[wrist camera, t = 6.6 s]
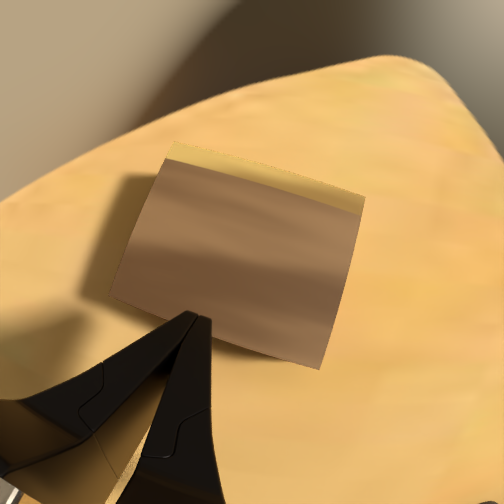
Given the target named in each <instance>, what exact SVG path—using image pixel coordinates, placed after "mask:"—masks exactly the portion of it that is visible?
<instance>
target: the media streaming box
mask: <svg viewBox="0 0 504 504" xmlns="http://www.w3.org/2000/svg"><path fill="white" fill-rule="evenodd" d="M480 504H498V503H496V502H493V501H487V502H483V503H480Z"/></svg>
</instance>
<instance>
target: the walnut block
mask: <svg viewBox="0 0 504 504" xmlns="http://www.w3.org/2000/svg"><path fill="white" fill-rule="evenodd" d="M364 202H365V197H364V196H361V195H358V194H355V193H353V192H350V191H347V190H344V189H341V188H338V187H335V186H332V185H329V184H326V183H323V182H320V181H317V180H314V179H311V178H308V177H304V176H301V175H298V174H295V173H291V172H288V171H285V170H281V169H278V168H275V167H271V166H268V165H264V164H261V163H257V162H254V161H250V160H247V159H243V158H239V157H235V156H232V155H228V154H224V153H220V152H216V151H212V150H208V149H204V148H200V147H196V146H192V145H187V144H183V143H179V142H173V144H172V146H171V148H170V150H169V152H168V154H167V156H166V158H165V160H164V162H163V164H162V166H161V168H160V171H159V173H158V175H157V177H156V179H155V181H154V183H153V186H152V188H151V190H150V192H149V194H148V197H147V199H146V201H145V203H144V206H143V208H142V210H141V213H140V215H139V217H138V220H137V222H136V224H135V227H134V229H133V232H132V234H131V237H130V239H129V242H128V244H127V247H126V249H125V252H124V254H123V257H122V260H121V262H120V265H119V267H118V270H117V273H116V276H115V278H114V281H113V284H112V287H111V290H110V292H109V295H108V296H110V297H112V298H115V299H117V300H119V301H122V302H124V303H126V304H129V305H131V306H134V307H136V308H138V309H141V310H143V311H146V312H148V313H151V314H153V315H156V316H158V317H161V318H163V319H166V320H168V321H169V320H171V319H172V318H174V317H176V316H177V315H179V314H181V313H182V312H184V311H186V310H189V311H192V312H194V313H197V314H198V315H203V316H206V317H208V318H211V319H212V337H215V338H217V339H220V340H223V341H226V342H229V343H232V344H235V345H238V346H241V347H244V348H247V349H250V350H253V351H256V352H260V353H263V354H266V355H269V356H272V357H276V358H279V359H282V360H286V361H289V362H292V363H296V364H299V365H303V366H306V367H310V368H314V369H317V370H319V369H320V366H321V363H322V360H323V357H324V354H325V351H326V348H327V344H328V341H329V338H330V335H331V332H332V328H333V325H334V322H335V318H336V315H337V311H338V308H339V304H340V301H341V297H342V294H343V290H344V286H345V282H346V279H347V275H348V271H349V267H350V263H351V259H352V255H353V251H354V247H355V243H356V238H357V234H358V230H359V225H360V221H361V216H362V211H363V207H364Z"/></svg>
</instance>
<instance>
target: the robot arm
mask: <svg viewBox="0 0 504 504" xmlns="http://www.w3.org/2000/svg"><path fill="white" fill-rule="evenodd" d="M211 356H212V319H211V318H208V317H206V316H203V315H198V314H197V313H194V312H192V311H189V310H186V311H184V312H182V313H181V314H179V315H177V316H176V317H174V318H172V319H171V320H169V321H168V322H166V323H164V324H163V325H161V326H159V327H158V328H156V329H155V330H153V331H151V332H150V333H148V334H146V335H145V336H143V337H142V338H140V339H138V340H137V341H135V342H133V343H132V344H130V345H129V346H127V347H125V348H124V349H122V350H120V351H119V352H117V353H115V354H114V355H112V356H110V357H109V358H107V359H106V360H104V361H103V363H102V362H100V363H99V364H97V365H95V366H94V367H92V368H90V369H89V370H87V371H85V372H83V373H81V374H80V375H78V376H76V377H73V378H71V379H69V380H67V381H65V382H63V383H61V384H58V385H56V386H54V387H51V388H49V389H47V390H44V391H42V392H40V393H37V394H35V395H33V396H30V397H27V398H23V399H17V400H5V399H0V504H105V502H106V500H107V499H108V497H109V495H110V493H111V492H112V490H113V488H114V487H115V485H116V483H117V482H118V479H119V478H120V476H121V475H122V473H123V471H124V469H125V468H126V466H127V464H128V463H129V461H130V459H131V457H132V456H133V454H134V452H135V451H136V449H137V447H138V445H139V444H140V442H141V440H142V439H143V437H144V435H145V433H146V432H147V430H148V428H149V427H150V425H151V427H150V430H149V432H148V435H147V438H146V441H145V444H144V447H143V449H142V452H141V457H140V458H139V461H138V464H137V466H136V469H135V471H134V473H133V475H132V477H131V478H130V480H129V482H128V483H127V485H126V487H125V489H124V490H123V492H122V494H121V495H120V497H119V499H118V500H117V502H116V504H226V502H225V499H224V495H223V492H222V487H221V482H220V477H219V472H218V467H217V462H216V457H215V451H214V444H213V437H212V421H211ZM151 423H152V424H151Z"/></svg>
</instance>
